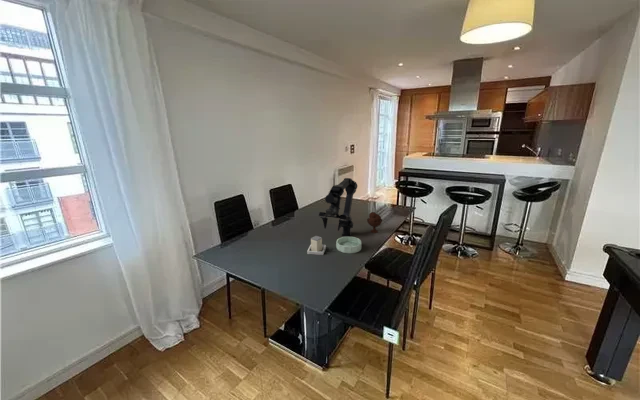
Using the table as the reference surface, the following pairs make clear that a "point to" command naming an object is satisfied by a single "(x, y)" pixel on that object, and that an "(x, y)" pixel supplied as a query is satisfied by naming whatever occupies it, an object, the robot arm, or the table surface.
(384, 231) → the table surface
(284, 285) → the table surface
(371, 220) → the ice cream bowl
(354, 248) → the serving bowl
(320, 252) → the square frame
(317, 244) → the cream grey rectangular block
